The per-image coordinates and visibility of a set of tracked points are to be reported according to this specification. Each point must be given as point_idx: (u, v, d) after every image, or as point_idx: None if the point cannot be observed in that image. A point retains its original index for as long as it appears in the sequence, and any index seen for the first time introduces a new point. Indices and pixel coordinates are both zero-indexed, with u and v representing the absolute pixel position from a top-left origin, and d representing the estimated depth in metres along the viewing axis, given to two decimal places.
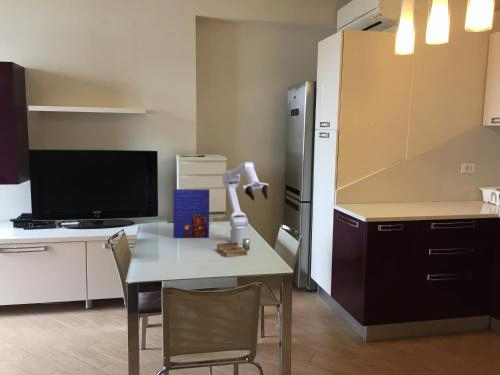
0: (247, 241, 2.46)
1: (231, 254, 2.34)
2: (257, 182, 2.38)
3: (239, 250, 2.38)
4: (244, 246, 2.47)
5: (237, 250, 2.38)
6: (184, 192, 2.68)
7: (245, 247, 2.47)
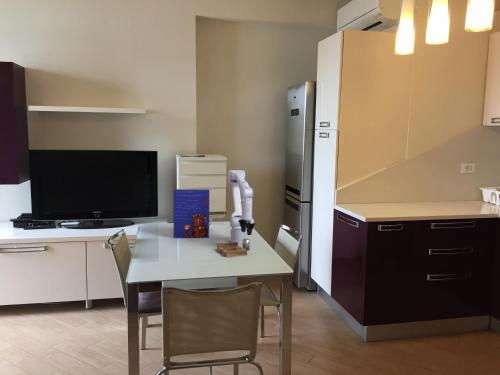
0: (247, 241, 2.46)
1: (231, 254, 2.34)
2: (241, 219, 2.45)
3: (239, 250, 2.38)
4: (244, 246, 2.47)
5: (237, 250, 2.38)
6: (184, 192, 2.68)
7: (245, 247, 2.47)
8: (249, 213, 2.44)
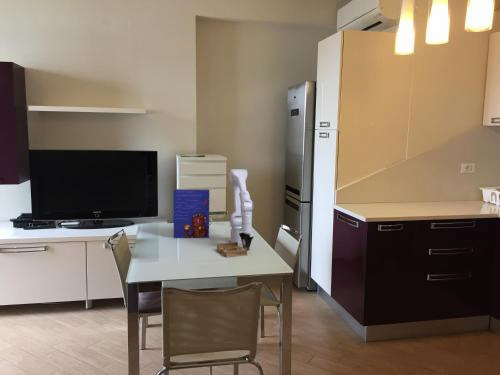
0: None
1: (231, 254, 2.34)
2: None
3: (239, 250, 2.38)
4: (244, 246, 2.47)
5: (237, 250, 2.38)
6: (184, 192, 2.68)
7: (245, 247, 2.47)
8: (249, 226, 2.45)
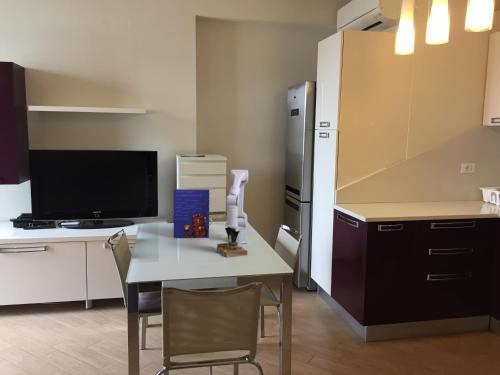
0: None
1: (231, 254, 2.34)
2: (226, 226, 2.38)
3: (239, 250, 2.38)
4: (230, 242, 2.39)
5: (237, 250, 2.38)
6: (184, 192, 2.68)
7: (231, 242, 2.39)
8: (235, 220, 2.37)
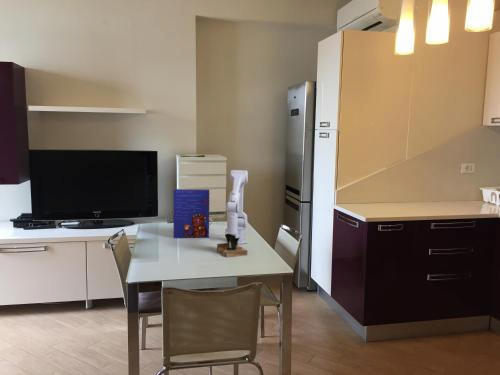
0: None
1: (231, 254, 2.34)
2: None
3: (239, 250, 2.38)
4: (230, 248, 2.40)
5: (237, 250, 2.38)
6: (184, 192, 2.68)
7: (231, 249, 2.40)
8: (234, 227, 2.37)
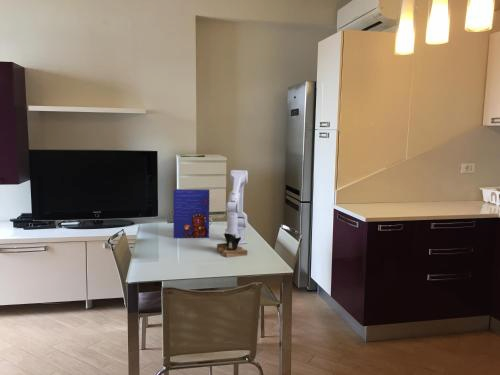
0: None
1: (231, 254, 2.34)
2: None
3: (239, 250, 2.38)
4: (230, 249, 2.40)
5: (237, 250, 2.38)
6: (184, 192, 2.68)
7: None
8: (234, 227, 2.37)
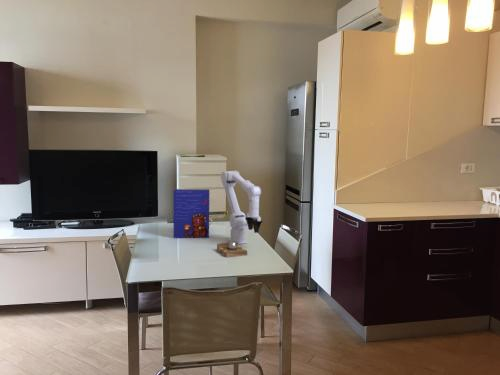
0: (233, 244, 2.39)
1: (231, 254, 2.34)
2: (248, 216, 2.49)
3: (239, 250, 2.38)
4: (230, 249, 2.40)
5: (237, 250, 2.38)
6: (184, 192, 2.68)
7: None
8: (256, 211, 2.48)
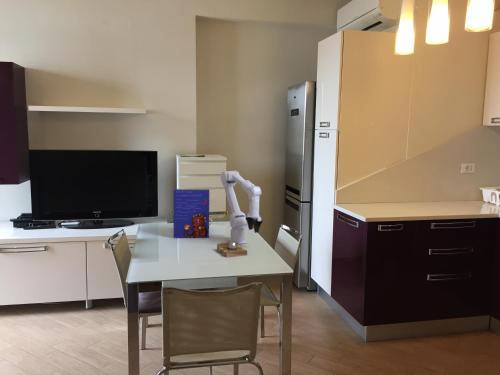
0: (233, 244, 2.39)
1: (231, 254, 2.34)
2: (248, 216, 2.49)
3: (239, 250, 2.38)
4: (230, 249, 2.40)
5: (237, 250, 2.38)
6: (184, 192, 2.68)
7: None
8: (256, 211, 2.48)
